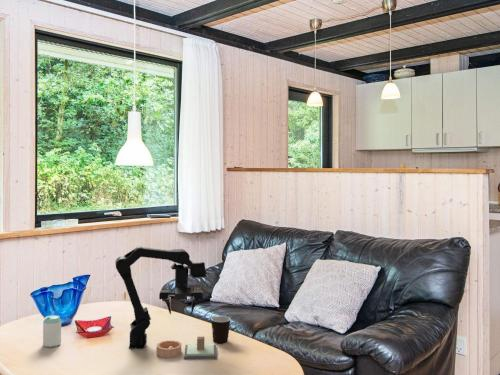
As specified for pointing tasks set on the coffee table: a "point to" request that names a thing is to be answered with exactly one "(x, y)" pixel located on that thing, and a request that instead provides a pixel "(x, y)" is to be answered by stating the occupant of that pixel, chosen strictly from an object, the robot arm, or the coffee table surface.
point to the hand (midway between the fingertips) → (181, 313)
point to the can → (52, 331)
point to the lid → (200, 348)
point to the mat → (200, 356)
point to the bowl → (169, 349)
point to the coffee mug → (220, 329)
